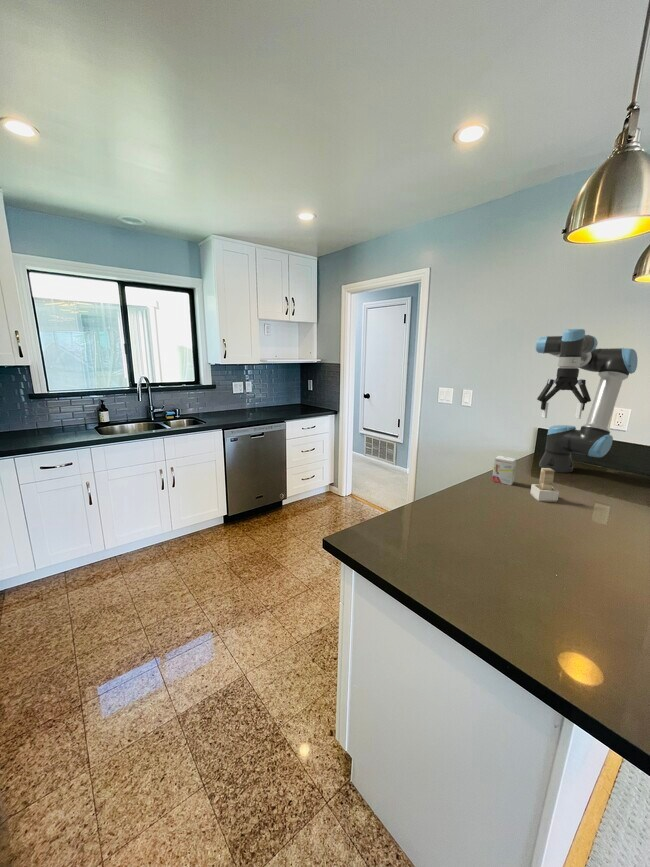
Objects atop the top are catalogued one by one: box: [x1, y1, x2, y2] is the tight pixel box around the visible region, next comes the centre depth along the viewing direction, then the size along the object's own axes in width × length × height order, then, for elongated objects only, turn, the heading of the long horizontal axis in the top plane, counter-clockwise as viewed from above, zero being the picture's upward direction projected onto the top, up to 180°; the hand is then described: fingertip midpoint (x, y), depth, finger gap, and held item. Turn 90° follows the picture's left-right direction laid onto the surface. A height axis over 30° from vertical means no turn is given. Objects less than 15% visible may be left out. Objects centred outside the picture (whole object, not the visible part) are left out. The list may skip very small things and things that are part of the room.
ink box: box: [491, 455, 517, 486], centre depth 164 cm, size 9×5×12 cm, turn 50°
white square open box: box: [529, 483, 560, 503], centre depth 147 cm, size 7×7×4 cm
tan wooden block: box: [538, 467, 556, 491], centre depth 146 cm, size 4×4×12 cm
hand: (560, 417), depth 151 cm, fingers open, 13 cm apart
